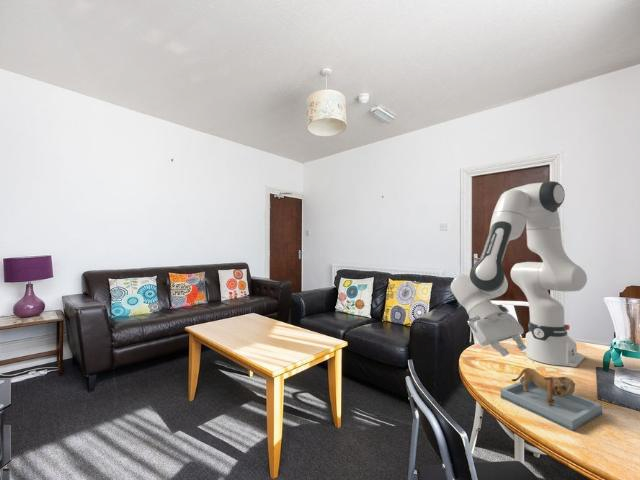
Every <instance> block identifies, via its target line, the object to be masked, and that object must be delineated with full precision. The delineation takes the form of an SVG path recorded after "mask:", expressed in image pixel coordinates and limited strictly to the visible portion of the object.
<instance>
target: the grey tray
mask: <svg viewBox="0 0 640 480" xmlns="http://www.w3.org/2000/svg"><path fill="white" fill-rule="evenodd" d="M524 381H525V380H524ZM524 381H523V383H524ZM526 388H527V389H528V390H529V392H525V391H524V387H523V385H522V384H520V381H519V382H516V383H514V384H511V385H508V386H506V387H503V388H500V398H501V399H503V400H505V401H507V402H510V403H512V404H514V405H515V406H518V407H520V408H522V409H525V410H527V411H529V412H531V413H533V414H535V415H537V416H539V417H541V418H543V419H545V420H548V421H550V422H552V423H554V424H557V425H559V426H561V427H563V428H565V429H567V430H569V431H571V432H573V431H575V430H578V429H579V428H580V427H582V426H584V425H585V424H587V423H589V422H590V421H593V420H594V419H596V418H597V417H599V416H601V415H603V404H602V403H599V402H595V401H593V400H590V399H588V398H585V397H583V396H580V395H577V394H575V393H573V394H572V395H570V396H569V395H568V396H563V397H561V398H560V397H558V396H553V398H552V399H553V400H554V402H551V403H552V404H553V405H552V406H550V405H548V404H547V391H545V390H543V389H541V388H539V387H538V386H537V385H536V384H535V383H534V382H533V380H530V382H529V383H528V384H527V385H526Z"/></svg>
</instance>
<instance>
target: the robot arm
mask: <svg viewBox="0 0 640 480" xmlns="http://www.w3.org/2000/svg"><path fill="white" fill-rule="evenodd" d="M565 197H566V195H565V189H564V187H563V186H562V184H560V183H559V182H558V181H555V180H554V181H550V180H549V181H548V180H547V181H544V182H533V183H528V184H527V183H526V184H524V185H520V186H517V187H514V188H513V187H511V188H508V189H504V190H503V191H501V193H500V194H499V196H498V198H497V202H496V205H495V207H494V210H493V212H492V214H491V215H492V216H491V221H490V225H489V232H488V235H487V238H486V240H485V244H484V247H483V250H482V253H481V255H480V257H479V258H478V259H477V260H476V262H475V263H474V264H473V265H472V267H471V269H470V271H469V273H460V274H458V275H457V276H455V277H454V278H453V280H452V281H451V283H450V291H451V292H452V295H454V297H455V299H456V300H457V302H458V303H459V304H460V306H462V307H463V308H464V309H465V310H466V313H467V315H468V316H469V317H470V318H468V320H467V325H468V326H469V327H470V330H471V333H472V334H473V336H474V337H475V340H477V342H478V344H480V345H481V346H483V347H486V346H489V345H490V346H491V347H492V348H493V349H494V350H496V351H497V352H499V354H500V355H501V356H502V357H506V356H508V355H509V354H510V352H509V351H508V348H507V347H506V348H504V347H503V346H502V345H501V344H500V343H501V342H504V341H508V340H510V339H512V340H513V341H514V342H515V343H516V348H517V349H518V350H519V351H522V353H524V354H525V356H526V357H527V358H528V359H531V360H533V361H535V362H537V363H543V364H547V365H553V366H562V367H564V366H566V367H570V368H572V367H573V368H577V366H579V365H580V364H581V363H582V362H583V361H584V359H586V357H585V355H584V354H582V353H579V352H578V350H577V349H578V346H577V343H576V342H575V341H574V340H573V338H571V337H570V336H568V331H569V330H570V328H571V327H570V324H565V309H564V305H563V304H562V303H561V302H560V301H559V300H557V299H555V298H553V297H552V296H551V295H550V293H549V291H554V292H555V291H556V292H564V293H566V292H567V293H569V292H579V291H581V290H582V289H584V288H585V287H586V285H587V283H588V282H587V281H588V276H587V273H586V272H585V270H584V269H583V267H581V266H579V265H578V264H576V263H575V262H573V260H572V259H571V258H569V256H568V255H567V253H566V252H565V251H566V250H565V249H564V247H563V241H562V231H561V220H560V215H559V210H558V208H560V207H561V205H562V204H563V203H564V201H565ZM525 227H526V245H527V248H528V249H529V250H530V251H531V252H532V253H535V254H537V255H538V256H539V257H540V258H541V260H542V261H540V262H538V261H525V262H516V263H515V264H514V265H513V266H512V267H511V269H510V278H511V280H512V282H513V283H514V284H515V285H516V286H518V287H519V288H520V290H521V291H522V292H523V294H524V296H525V297H526V299H527V303H528V308H529V309H528V311H529V321H528V332H526V334H525V342H523V339H522V336H521V335H522V334H524V332H525V330H524V328H523V326H522V325H521V324H520V322H519V321H518V320H517V319H516V318H515V316H513V314H510V313H509V311H510V310H509V309H508V307H506V306H503V305H498V304H495V303H493V302H492V301H491V300H494V299H497V298H498V297H501V296H502V295H504V294H505V293H507V291H508V287H509V282H508V280H507V277H506V275H505V272H504V268H503V259H504V256H505V253H506V250H507V247H508V244H509V242H510V241H513V240H516V239H517V240H518V238H520V237H521V235H522V234H523V232H524V230H525ZM524 343H525V344H524Z"/></svg>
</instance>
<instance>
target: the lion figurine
mask: <svg viewBox="0 0 640 480" xmlns="http://www.w3.org/2000/svg"><path fill="white" fill-rule="evenodd" d="M523 375H524V376H523ZM518 380H519V382H520V384H522V385H523V387H524V391H525V392H529V390H528V389H527V388H526V385H527V384H528V383H529V382H530V380H533V382H534V383H535V384H536V385H537V386H538V387H539V388H541V389H543V390H545V391H547V404H548V405H550V406H552V405H553V404H552V403H551V402H554V400H553V399H552V398H553V396H558V397H560V398H561V397H563V396H568V395H569V396H570V395H572V394H575V390H576V389H575V388H576V383H575V382H574V380H573V379H572V378H570V377H568V376H557V377H555V376H549V377H546V376H543V375H542V374H540V373H539V372H538V371H537V370H535V369H533V368H530V367H525V368H524V369H522V371H521V372H520V374H519V375H518V376H517V377H516V378H513V379H511V381H512V382H517V381H518ZM524 380H525V381H524ZM523 381H524V383H523Z"/></svg>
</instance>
